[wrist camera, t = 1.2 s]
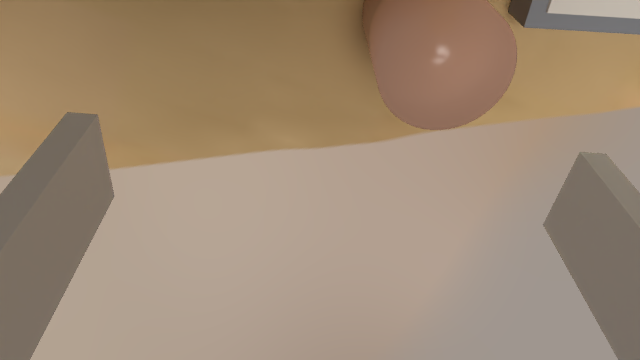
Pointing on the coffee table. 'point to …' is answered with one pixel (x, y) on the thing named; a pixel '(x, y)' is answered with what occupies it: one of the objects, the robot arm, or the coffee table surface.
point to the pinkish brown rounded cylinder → (439, 58)
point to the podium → (579, 15)
